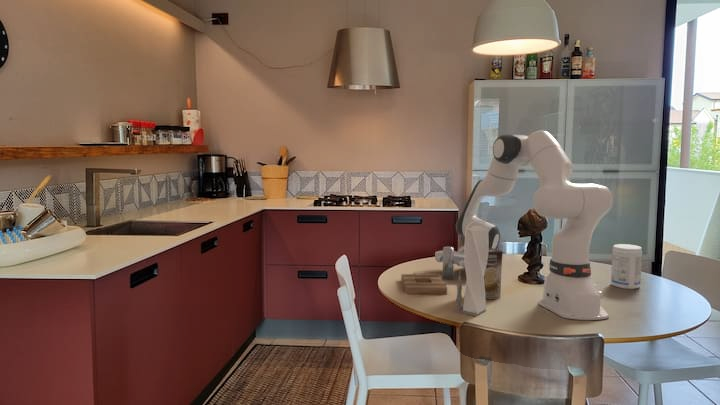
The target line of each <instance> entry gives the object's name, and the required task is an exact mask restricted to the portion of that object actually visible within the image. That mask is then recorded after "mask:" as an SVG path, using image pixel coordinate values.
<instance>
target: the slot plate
mask: <svg viewBox="0 0 720 405" xmlns="http://www.w3.org/2000/svg"><path fill="white" fill-rule="evenodd" d="M400 279H401V283H402V286H403V289H404V292H405V294H406V295H448V287H447V284H446V283H445V282H444V279H443V278H442V277H441V276H440V274H439V273H413V274H412V273H409V274H408V273H401V278H400Z"/></svg>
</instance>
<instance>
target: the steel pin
mask: <svg viewBox="0 0 720 405" xmlns="http://www.w3.org/2000/svg"><path fill="white" fill-rule="evenodd" d="M442 250H443V262H442V277H441V279H442V280H445V281H448V280H449V281H451V280H454V264H453V261H454V251H455V247H454V246H443V248H442Z"/></svg>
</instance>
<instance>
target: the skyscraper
mask: <svg viewBox="0 0 720 405" xmlns="http://www.w3.org/2000/svg"><path fill="white" fill-rule="evenodd" d="M474 222H483V224H482V227H481V226H472V228H468V227H469V226H470V224H472V223H474ZM484 223H485V220H484V221H483V219H482V220H476V221H473V222H471V223H469V224H468V226H467V227H466V232H465V237H464V245H463V246H464V262H465V267H464V269H465V275H466V281H465V289H464V296H463V297H462V295H463V294H462V289H463V285H462V281H461V280H462V276H461V272H462V271H460V270H459V272H458V273H459V274H458V283H457V284H456V290H457V292H456V299H455V301H456V305H455V306H456V307H455V309H454V313H459V314H463V315H467V316H472V317H477V316H479V315H481V314H483V313H486V311H487V299H485V287H484V278H483V277H484V273H485V270H486V265H487V260H488V250H489V237H488V229H487V228H483V226H484ZM462 298H463V299H462ZM462 303H463V304H462ZM462 305H463V306H462Z"/></svg>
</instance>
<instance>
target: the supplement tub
mask: <svg viewBox="0 0 720 405" xmlns="http://www.w3.org/2000/svg"><path fill="white" fill-rule="evenodd" d="M611 253H612V256H611V275H610V278H611V279H610V280H611V281H610V282H611V285H612V286H614V287H616V288H619V289H626V290H627V289H629V290H634V289H638V288H640V286H641V283H642V282H641V279H642V259H643V250H642V247H641V246H639V245H636V244H629V243H627V244H626V243H619V244H618V243H617V244H614V245H613V246H612V252H611Z"/></svg>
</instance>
